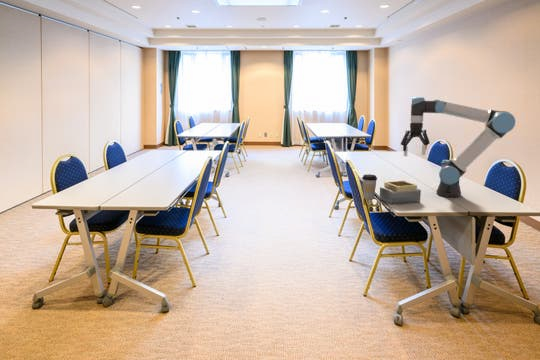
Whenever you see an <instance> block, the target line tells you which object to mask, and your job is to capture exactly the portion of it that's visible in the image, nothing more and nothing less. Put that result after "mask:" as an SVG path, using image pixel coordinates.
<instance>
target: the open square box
mask: <svg viewBox="0 0 540 360" xmlns="http://www.w3.org/2000/svg"><path fill="white" fill-rule="evenodd" d="M383 182H384V183H383V184H384V186H380V187H379V197H378V198H379V199H378V200H380V201H382V202H385V203H387V204H389V205H391V206H394V204H396V205H405V204H417V203H421V195H422V190H421V189H419V188H418V185H417V184H415V183H412V182H409V181H406V180H393V181H383Z"/></svg>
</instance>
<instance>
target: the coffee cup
mask: <svg viewBox="0 0 540 360" xmlns="http://www.w3.org/2000/svg"><path fill="white" fill-rule="evenodd" d="M361 179H362V192H363V199H364V200H367V201H372V200H374V198H375V192H376V186H377V181H378V177H377V175H375V174H363V176H362V178H361Z"/></svg>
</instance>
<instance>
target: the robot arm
mask: <svg viewBox="0 0 540 360" xmlns="http://www.w3.org/2000/svg"><path fill="white" fill-rule="evenodd" d="M410 106H411V107H410V123H409V129H406V130H405V133H404V136H403V137H402V140H401V142H400V146H402V151H403V156H404V157H408V149H409V147H408V144H409V143H410V142H411V140H413V139H414V138H419V140H420V141H421V143H422V146H421V156H426V151H427V148H428V147H427V146H428V145H429V144H430V139H429V136H428V134H427V129H423V127H424V126H423V125H424V123H423V122H424V114H443V115H448V116H450V117H451V116H452V117H456V118H461V119H464V120H469V121H470V120H471V121H475V122H479V123H484V125H485V126H484V130H483V131H482V132H481V133H480V134H479V135H478V136H476V138H474V139H473V140H472V142H470V143H469V145H468V146H467V147H465V149H463V151H461V152H460V153H459V154H458V155H457V156H456V157H455V158H451V159H443V160H442V161H441V164H440V165H441V168H440V170H439V173H438V175H439V178H440V179H439V180H440V181H439V185H438V186H437V189H436V191H435V193H436V195H437V196H440V197H445V198H459V197H461V196H462V191H461V186H460V178H461V177H463V175H465V173H467V169H468V167H469V166H470V165H471V164H472V163H473V162H474V161H475V160H477V158H478V157H479V156H480V155H482V154H483V152H485V151H486V150H487V149H488V148H489V147H490V146H491V145H492V144H493V143H494V142H495V141H496V140H498V139H502V138H503V137H504V136H505V135H507V133H509V132H511V131H512V130H513V129H514V128H515V126H516V118H515V115H513V114H512V113H510V112H508V111H506V110H495V109H489V110H486V109H482V108H477V107H472V106H466V105H462V104H457V103H452V102H448V101H444V100H441V99H434V100H425V97H421V96H418V97H415V96H414V97H412V98H411V105H410Z"/></svg>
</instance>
